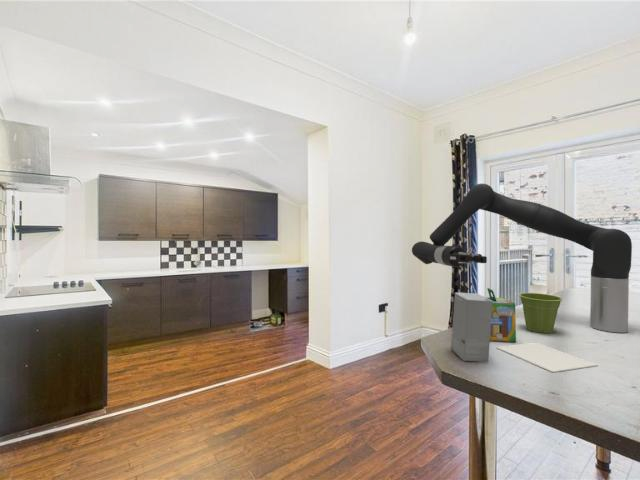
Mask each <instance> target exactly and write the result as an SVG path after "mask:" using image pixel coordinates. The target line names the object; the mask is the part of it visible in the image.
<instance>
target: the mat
mask: <svg viewBox="0 0 640 480" xmlns="http://www.w3.org/2000/svg"><path fill="white" fill-rule="evenodd" d="M495 348H496V349H497V350H500V351H501V352H504V353H506V354H508V355H510V356H513V357H515V358H517V359H520V360H522V361H525V362H527V363H529V364H531V365H534V366H535V367H538V368H541V369H543V370H546V371H548V372H550V373H551V374H552V373H554V374H555V373H561V372H567V371H575V370H581V369H588V368H594V367H595V368H596V367H599V365H598V364H597V363H593V362H591V361H588V360H586V359H582V358H580V357H577V356H575V355H572V354H569V353H566V352H563V351H561V350H558V349H555V348H552V347H549V346H547V345H544V344H542V343H538V342H530V343H529V342H528V343H519V344H518V343H517V344H511V345H510V344H509V345H502V346H495Z"/></svg>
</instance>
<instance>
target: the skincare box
mask: <svg viewBox="0 0 640 480" xmlns="http://www.w3.org/2000/svg"><path fill="white" fill-rule="evenodd" d="M486 297H487V296H485V295H484V296H483V295H481V294H479V293H476V292H475V293H473V292H472V293H471V292H470V293H469V292H454V302H453V316H452V330H451V342H450V349H451V351H453V352H454V353H455V354H456V355H457V357H459V358H460V359H461V360H462V361H464V362H482V363H483V362H484V363H485V362H489V358H490V357H489V356H490V355H489V354H490V345H491V343H490V342H491V341H490V329H491V316H492V303H493V301H491V300H489V299H487V298H486Z"/></svg>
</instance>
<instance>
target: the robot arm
mask: <svg viewBox="0 0 640 480" xmlns="http://www.w3.org/2000/svg"><path fill="white" fill-rule="evenodd" d="M480 210H482V211H485V212H489V213H493V214H496V215H500V216H502V217H504V218H507V219H509V220H510V221H513V222H515V223H517V224H519V225H522V226H524V227H526V228H528V229H529V228H530V229H531V230H534V231H536V232H540V233H541V234H542V233H543V234H546V235H548V236H552V237H556V238H560V239H564V240H568V241H571V242H573V243H575V244H577V245H580V246H582V247H584V248H585V249H588V250H590V251H592V265H591V268H590V308H589V309H590V313H589V314H590V315H589V316H590V317H589V318H590V319H589V320H590V322H589V323H590V326H589V327H591V328H592V329H596V330H599V331H603V332H604V331H605V332H609V333H622V334H623V333H624V334H625V333H628V332H629V291H630V290H629V286H630V285H629V284H630V279H629V277H630V272H631V267H632V258H633V257H632V253H633V249H632V248H633V246H632V245H633V244H632V239H631V237H630V236H629V234H628V233H627V232H626V231H623V230H621V229H618V228H604V227H601V226H597V225H593V224H589V223H585V222H584V221H583V222H582V221H580V220H578V219H576V218H574V217H572V216H570V215H568V214H566V213H564V212H562V211H560V210H558V209H555V208H552V207H550V206H546V205H543V204H540V203H538V202H533V201H529V200H523V199H515V198H511V197H508V196H505V195H504V194H500V193H498V192H496V191H494V189H493V188H492V186H491V185H489V184H487V183H478V184H475V185H473V186H472V187H471V188H470V190H469V191H468V193H466V195H465V196H464V198H463V199H462V200H461V202H460V203H459V205H458V206H457V207H456V208H455V209H454V210H453V211H452V212H451V213H450V215H449V216H447V217H446V218H445V219H444V221H442V222H441V223H440V224H439V226H438V227H436V229H435V230H433V231H432V233H430V235H429V239H430V241H431V242H432V243H430V242H427V241H417V242H415V243H414V244H413V246H412V247H411V253H412V256H414V257H415V258H416V259H418V260H419V261H420V262H422V263H423V264H425V265H430V264H432V263H434V264H440V265H442V266H448V267H454V268H458V267H462V266H463V265H464V264H475V263H476V264H477V263H478V264H487V262H488V258H487V256H485V255H484V256H483V254H481V253H474V252H469V251H465V250H464V248H462V247H461V246H457V245H455V246H454V245H446V244H448V242H449V241H450V240H452V238H453V237H454V236H455V235H456V234H457V233H458V232H459V230H461V228H462V227H463V226H464V224H465V223H466V222H467V221H468V220H469V219H470V217H472V216H474V214H476V213H477V212H478V211H480Z"/></svg>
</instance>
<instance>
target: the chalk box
mask: <svg viewBox="0 0 640 480" xmlns="http://www.w3.org/2000/svg"><path fill="white" fill-rule="evenodd" d="M487 292H488V296H485V297H486V298H487V299H489V300H491V301H493V303H492V316H491V329H490V342H508V343H509V342H511V343H517V332H516V331H517V330H516V329H517V328H516V326H517V325H516V303H515V302H513V301H511V300H509V299H506V298H504V297H496V295H495V292H494V290H493V289H491V288H489V287H487Z"/></svg>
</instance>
